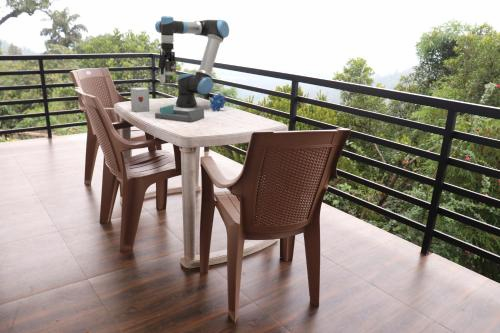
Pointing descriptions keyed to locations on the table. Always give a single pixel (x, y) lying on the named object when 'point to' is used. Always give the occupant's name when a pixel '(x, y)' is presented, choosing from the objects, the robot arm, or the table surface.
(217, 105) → the grapes
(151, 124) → the table surface
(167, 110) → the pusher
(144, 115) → the table surface
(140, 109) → the supplement box
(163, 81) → the coffee can
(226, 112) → the table surface
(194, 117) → the lane
